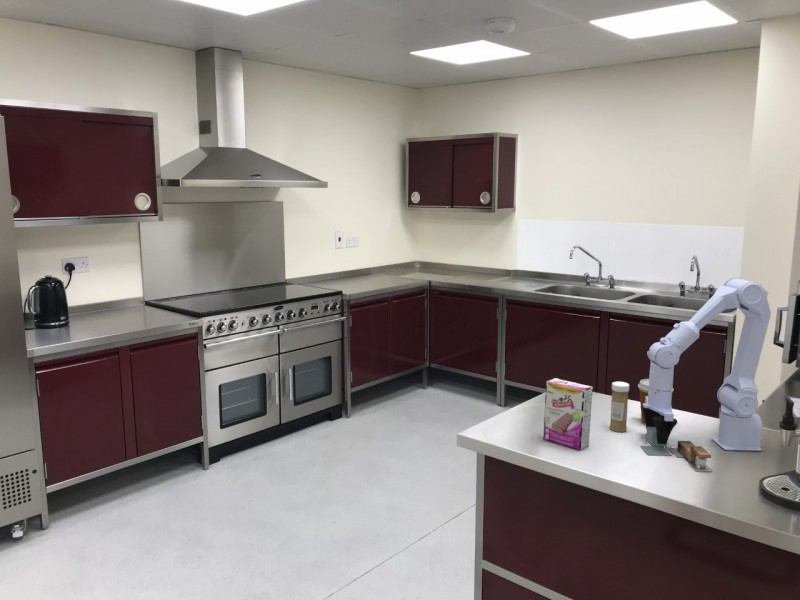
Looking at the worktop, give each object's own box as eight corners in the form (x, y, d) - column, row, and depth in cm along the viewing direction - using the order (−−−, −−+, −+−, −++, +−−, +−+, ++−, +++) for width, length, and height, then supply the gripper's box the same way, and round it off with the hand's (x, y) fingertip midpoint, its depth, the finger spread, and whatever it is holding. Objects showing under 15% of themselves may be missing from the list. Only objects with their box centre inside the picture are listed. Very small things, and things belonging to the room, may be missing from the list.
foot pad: (691, 448, 161) (691, 448, 161) (701, 458, 155) (701, 457, 155) (668, 448, 161) (668, 447, 161) (677, 457, 155) (677, 456, 155)
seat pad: (662, 446, 162) (662, 446, 162) (672, 455, 156) (672, 455, 156) (639, 446, 163) (639, 445, 163) (647, 455, 157) (647, 454, 157)
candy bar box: (542, 440, 166) (544, 381, 164) (551, 435, 170) (554, 377, 167) (580, 451, 159) (584, 389, 156) (589, 446, 162) (593, 385, 160)
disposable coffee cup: (649, 415, 186) (652, 376, 185) (678, 425, 178) (681, 384, 177) (628, 420, 182) (631, 381, 180) (656, 431, 174) (659, 389, 172)
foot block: (660, 441, 166) (661, 427, 166) (666, 447, 162) (667, 432, 162) (645, 441, 166) (646, 426, 166) (651, 446, 162) (652, 432, 162)
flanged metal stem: (705, 464, 151) (706, 452, 151) (712, 471, 147) (713, 458, 147) (688, 464, 151) (689, 451, 151) (695, 471, 147) (696, 458, 147)
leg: (710, 470, 147) (712, 454, 147) (697, 469, 147) (699, 454, 147) (689, 450, 159) (690, 436, 159) (677, 449, 159) (678, 435, 159)
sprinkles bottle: (629, 430, 174) (632, 384, 172) (619, 433, 171) (622, 386, 169) (616, 425, 178) (619, 380, 176) (605, 428, 175) (608, 382, 173)
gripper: (635, 380, 169) (632, 427, 171) (655, 396, 155) (651, 448, 157) (661, 380, 169) (657, 428, 171) (683, 397, 155) (679, 449, 157)
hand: (656, 438), depth 164 cm, fingers open, 7 cm apart
